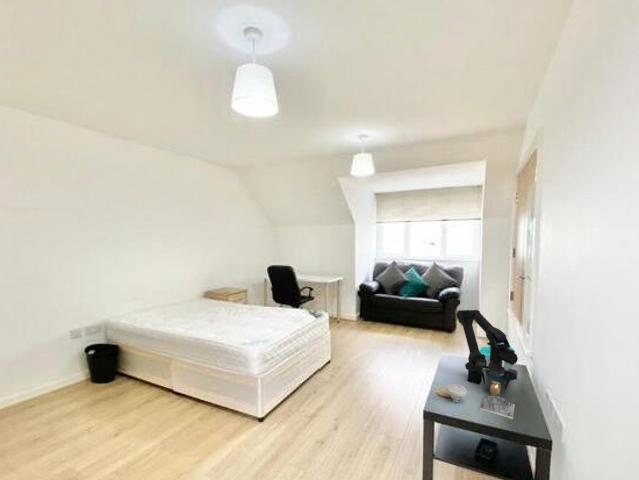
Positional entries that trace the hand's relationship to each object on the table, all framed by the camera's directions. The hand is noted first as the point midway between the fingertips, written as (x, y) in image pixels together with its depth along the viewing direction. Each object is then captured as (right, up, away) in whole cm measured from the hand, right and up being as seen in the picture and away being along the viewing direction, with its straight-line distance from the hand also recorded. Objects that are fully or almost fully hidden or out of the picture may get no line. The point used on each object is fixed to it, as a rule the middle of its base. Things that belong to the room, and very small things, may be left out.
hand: (494, 386), depth 163 cm
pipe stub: (0, -4, 0) cm, 4 cm away
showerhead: (-23, -4, -7) cm, 25 cm away
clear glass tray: (-5, -4, -12) cm, 14 cm away
